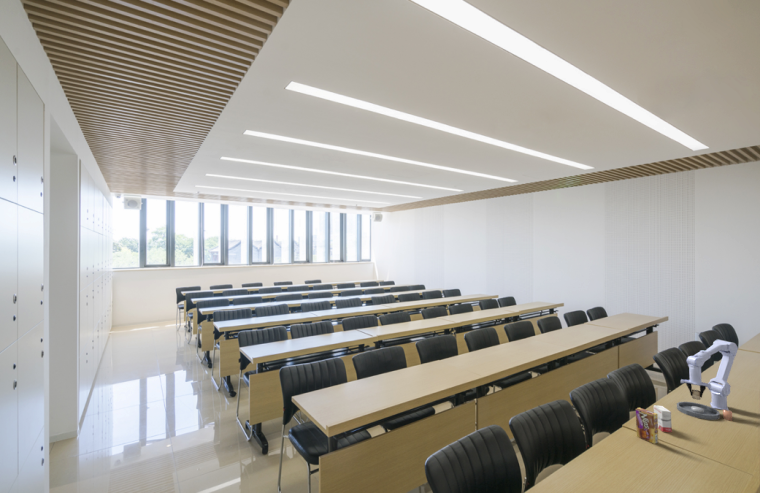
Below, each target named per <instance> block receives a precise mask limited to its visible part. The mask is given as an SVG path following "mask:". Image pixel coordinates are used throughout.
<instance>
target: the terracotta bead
mask: <svg viewBox="0 0 760 493" xmlns="http://www.w3.org/2000/svg"><path fill="white" fill-rule="evenodd" d="M722 418H723V419H724V420H726V421H731V422H732V421H733V411H732V410H726V409H723V410H722Z"/></svg>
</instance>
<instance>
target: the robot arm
mask: <svg viewBox="0 0 760 493" xmlns="http://www.w3.org/2000/svg"><path fill="white" fill-rule="evenodd" d="M738 350H739V347H738V346H737V343H735V342H731V341H727V340H722V339H718V338H717V339H716V340H714V341H713V343H712V345H710V347H707V348H706V350H699V352H697V353H695V354H694V355H690V356H687V358H686V363H687V366H688V368H689V370H688V371H689V379H682V378H681V379H680V384H686V386H687V388H688V391H689V393H690V396H691V397H692V390H693V388H692V385H694V386H699V391H700V399H703V394H704V392H705V390H706V388H707V389H708V390H709V392H710V393H711V401H710V402H709V404H710V407H712V408H714V409H716V410H722V411H723V409H726V410H729V407H728V398H727V397H728V396H729V395H730V394H731V387H732V386H731V384H730V383H729V382H728V380H729V376H730V373H731V370H732V367H733V364H734V361H735V358H736V355H737V353H738ZM718 352H719V353H721V355H722V358H721V360H720V362H719V363H720V364H719V367H718V370H717V371H716V372H717V373H716V376H715V377H713V378H710V380H709V382H707V383H706V382H704V381H702V367H703V366H704V364H705V362H706V361H708V360H709V359H711V356H712V355H714V354H716V353H718Z"/></svg>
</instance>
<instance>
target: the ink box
mask: <svg viewBox="0 0 760 493" xmlns="http://www.w3.org/2000/svg"><path fill="white" fill-rule="evenodd" d="M653 412H654V413H657V415H658V430H660V431H662V432H663V433H673V431H672V429H673V428H672V411H670V410H669V409H668V408H666V407H664V406H663V405H658V404H657V405H653Z"/></svg>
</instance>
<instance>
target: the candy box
mask: <svg viewBox="0 0 760 493" xmlns="http://www.w3.org/2000/svg"><path fill="white" fill-rule="evenodd" d="M635 422H636V423H635V425H636V428H635V429H636V438H639V439H642V440H644V441H647V442H650V443H652V444H654V445H655V444H657V443H659V428H658V415H657V413H654V411H651V410H648V409H645V408H641V407H637V408H635Z"/></svg>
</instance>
